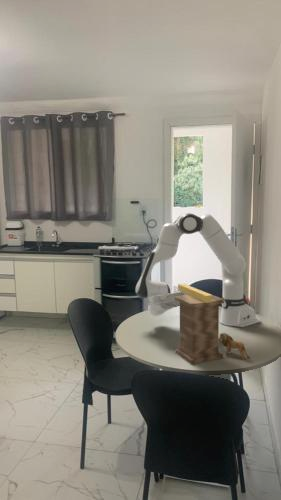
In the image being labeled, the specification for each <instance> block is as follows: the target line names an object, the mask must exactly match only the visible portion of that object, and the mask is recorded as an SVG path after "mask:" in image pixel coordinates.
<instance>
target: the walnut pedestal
mask: <svg viewBox="0 0 281 500" xmlns="http://www.w3.org/2000/svg"><path fill="white" fill-rule="evenodd" d="M207 293H208V292H207ZM208 294H210V293H208ZM211 295H212V302H209V303H205V302H203V301H201V300H198V299H196V298H194V297H192V296H189V295H182V296H175V300H176V301H178V302H180V306H179V348H175V349H174V351H175V354H177V355H178V356H180V357H181V358H182V359H184V361H186V362H187V363H189V364H190V365H195V364H199V363H204V362H208V361H214V360H217V359H223V358H224V354H223V352H221V351H219V335H220V333H219V331H220V329H219V328H220V327H219V326H220V325H219V323H220V322H219V320H220V317H219V316H220V315H219V314H220V313H219V311H220V310H219V309H220V307H219V305H220V304H221V305H222V303H224V299H222V297H219V296H216V295H213V294H211Z"/></svg>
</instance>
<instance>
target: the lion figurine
mask: <svg viewBox="0 0 281 500" xmlns="http://www.w3.org/2000/svg"><path fill="white" fill-rule="evenodd" d="M218 342H219V343H221V344H222V345H223V346H224V347H225V348H226V353H225V354H226V355H227V356H228V355H230V353H232V349H233V350H238V352H239V355H240V356H241V360H243V361H244V360H245V359H246V357H247V358H248V359H251V357H250V356H249V355H248V353H247V349H246V347H245V343H243V342H242V341H237V340H234V339H233V337H232V336H231V335H229V334H228V333H226V332H221V333H219V337H218ZM245 356H246V357H245Z"/></svg>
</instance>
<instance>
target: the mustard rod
mask: <svg viewBox="0 0 281 500" xmlns="http://www.w3.org/2000/svg"><path fill="white" fill-rule="evenodd" d="M177 290H178V291H179V292H183V293H185V294H187V295H189V296H192V297H194V298H196V299H198V300H201V301H203V302H205V303H209V302H212V295H213V294H211V293H209V294H208V292H206V291H203V290H201V289H198V288H197V287H193V286H190V285H188V284H186V283H178V284H177Z"/></svg>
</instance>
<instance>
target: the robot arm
mask: <svg viewBox="0 0 281 500" xmlns="http://www.w3.org/2000/svg"><path fill="white" fill-rule="evenodd" d="M195 233H199V234H200V235H201V236H202V237H203V239H204V241H205V243H207V245H208V246H209V247H210V249H211V251H212V252H213V254H214V255H215V257H217V260H219V262H220V263H221V278H222V296H221V299H224V303H222V304H221V311H220V312H221V314H220V317H219V323H220V324H221V325H225V326H230V327H238V328H239V327H240V328H244V327H248V326H251V325H255V324H258V323H260V322H261V320H260V318H259V317H257V314H256V310H255V309H254V308H253V307H251V306H250V305H248V304H247V303H249V302H250V298H249V297H244V279H243V277H244V276H243V273H244V272H245V270H246V268H247V262H246V259H245V258H244V257H243V255H242V253H241V252H240V251H239V249H238V248H237V247H236V246H235V244H234V243H233V242H232V240H231V238H230V237H229V236H228V234H227V233H226V232H225V230H224V229H223V227H222V226H221V224H220V223H219V222H218V221H217V220H216V219H215V217H214V216H212V215H211V214H207V213H206V214H203V215H202V216H200V217H199V216H197V215H195V214H193V213H191V212H190V213H189V212H187V213H182V214H181V215H179V216H178V217H177V219H176V220H175V221H174V222H168V223H167V222H166V223H165V224H163V225H162V228H161V230H160V233H159V236H158V240H157V244H156V247H155V248H154V249H153V250H151V251H150V252H149V254H148V256H147V258H146V261H145V263H144V264H143V265H144V266H143V268H142V271H141V273H140V276H139V278H138V281H137V282H136V285H135V290H134V292H135V294H136V296H137V297H139V299H149V301H147V305H148V307H147V311H148V312H149V314H150V315H152V316H153V317H154V316H155V317H158V316H160V315H163V314H164V313H166V312H167V311H169V310H172V309H174V308H177V307H180V302H178V301H176V300H175V296H182V295H187V294H185V293H183V292H181V291H179V292H173V293H171V288H170V286H169V285H168V283H167V282H166V281H165V282H164V281H157V280H150V279H149V278H150V276H151V274H152V271H153V268H154V266H156V265H157V264H158V263H161V262H166V261H169V260H172V259H173V258H174V257H175V256H176V254H177V252H178V248H179V243H180V242H179V241H180V239H181V236H183V235H191V234H192V235H193V234H195ZM246 302H247V303H246Z"/></svg>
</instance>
